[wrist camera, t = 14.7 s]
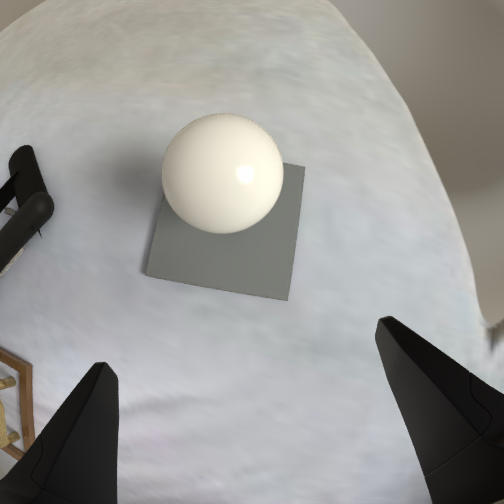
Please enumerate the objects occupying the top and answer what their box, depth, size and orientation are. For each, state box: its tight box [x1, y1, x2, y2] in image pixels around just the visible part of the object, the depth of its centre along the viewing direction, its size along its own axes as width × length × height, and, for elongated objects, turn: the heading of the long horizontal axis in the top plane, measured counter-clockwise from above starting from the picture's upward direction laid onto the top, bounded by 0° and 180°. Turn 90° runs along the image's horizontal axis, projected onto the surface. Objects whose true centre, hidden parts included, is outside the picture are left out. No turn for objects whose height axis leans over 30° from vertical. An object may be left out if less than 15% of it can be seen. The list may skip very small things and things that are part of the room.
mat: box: [145, 163, 305, 301], centre depth 23 cm, size 11×11×1 cm
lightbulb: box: [161, 113, 284, 234], centre depth 17 cm, size 6×6×11 cm
